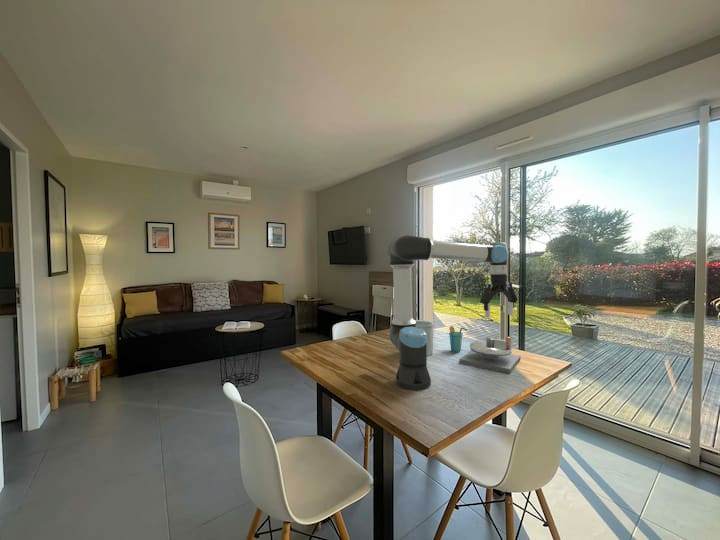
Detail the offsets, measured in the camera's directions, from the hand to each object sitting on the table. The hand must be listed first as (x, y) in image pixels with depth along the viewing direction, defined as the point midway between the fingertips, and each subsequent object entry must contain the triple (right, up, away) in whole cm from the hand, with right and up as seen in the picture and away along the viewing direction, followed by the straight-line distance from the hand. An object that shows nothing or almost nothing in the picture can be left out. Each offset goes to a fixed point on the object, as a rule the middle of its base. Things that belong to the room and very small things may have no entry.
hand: (499, 316), depth 151 cm
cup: (-13, -25, +25) cm, 37 cm away
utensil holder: (-34, -25, +24) cm, 49 cm away
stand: (-1, -25, +8) cm, 26 cm away
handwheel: (-1, -19, +8) cm, 20 cm away
